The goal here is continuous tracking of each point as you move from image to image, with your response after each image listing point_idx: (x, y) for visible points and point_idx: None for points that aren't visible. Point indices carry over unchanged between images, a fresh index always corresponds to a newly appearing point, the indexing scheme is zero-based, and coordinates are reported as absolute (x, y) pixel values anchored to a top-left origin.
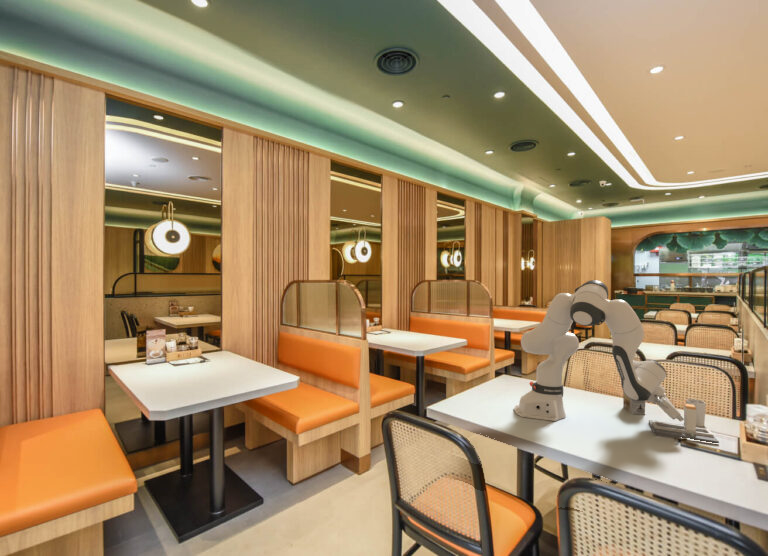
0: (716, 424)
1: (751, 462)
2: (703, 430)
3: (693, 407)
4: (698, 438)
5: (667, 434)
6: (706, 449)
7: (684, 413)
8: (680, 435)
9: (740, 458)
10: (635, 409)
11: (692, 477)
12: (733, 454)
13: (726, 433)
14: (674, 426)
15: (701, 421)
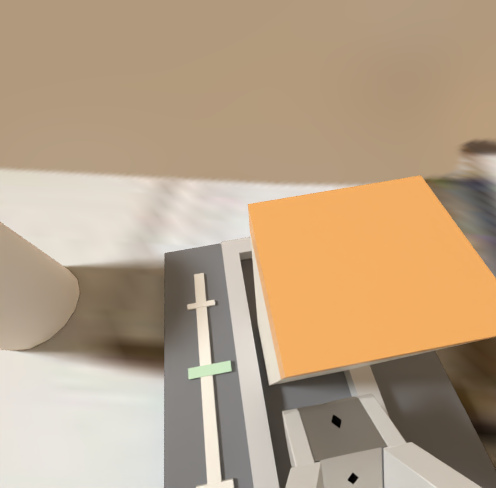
0: (20, 219)
1: (469, 156)
2: (241, 268)
3: (431, 212)
4: None
5: None
6: None
7: (293, 379)
8: (472, 425)
9: (461, 178)
10: None
11: None
12: (435, 193)
13: (146, 195)
14: (275, 470)
15: (57, 267)
